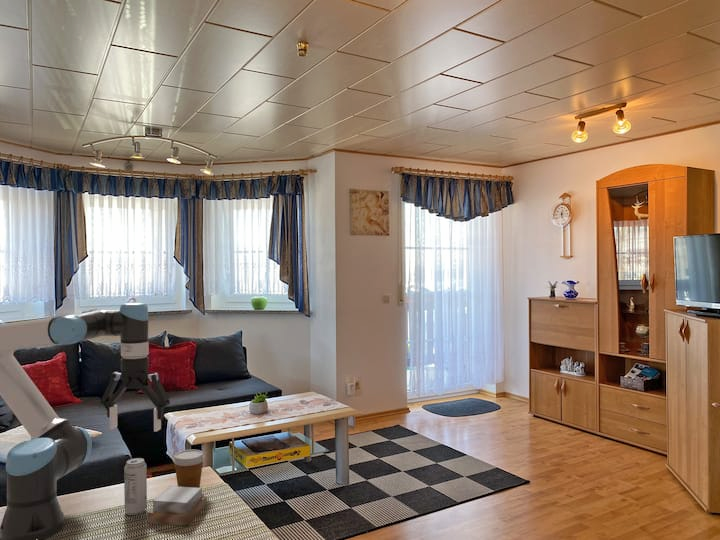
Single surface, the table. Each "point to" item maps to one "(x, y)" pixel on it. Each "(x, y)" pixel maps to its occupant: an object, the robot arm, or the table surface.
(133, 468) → the energy drink can
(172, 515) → the plinth
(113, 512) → the table surface
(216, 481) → the table surface
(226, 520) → the table surface
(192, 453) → the disposable coffee cup
